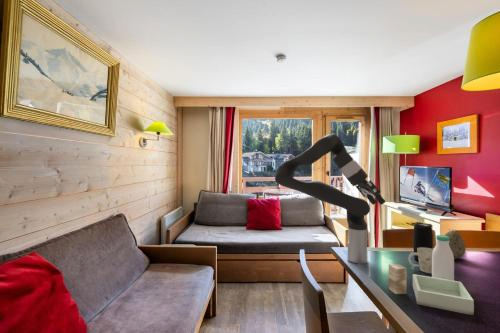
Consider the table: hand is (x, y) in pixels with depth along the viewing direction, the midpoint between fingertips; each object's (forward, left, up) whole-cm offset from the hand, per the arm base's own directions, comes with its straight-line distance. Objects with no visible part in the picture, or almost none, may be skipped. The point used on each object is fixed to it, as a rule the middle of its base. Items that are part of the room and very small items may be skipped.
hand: (379, 203), depth 109 cm
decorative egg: (+36, +55, -35) cm, 74 cm away
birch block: (+7, -1, -35) cm, 35 cm away
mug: (+19, +28, -35) cm, 48 cm away
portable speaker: (+21, +44, -35) cm, 59 cm away
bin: (+21, -1, -35) cm, 40 cm away
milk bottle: (+25, +17, -35) cm, 46 cm away
